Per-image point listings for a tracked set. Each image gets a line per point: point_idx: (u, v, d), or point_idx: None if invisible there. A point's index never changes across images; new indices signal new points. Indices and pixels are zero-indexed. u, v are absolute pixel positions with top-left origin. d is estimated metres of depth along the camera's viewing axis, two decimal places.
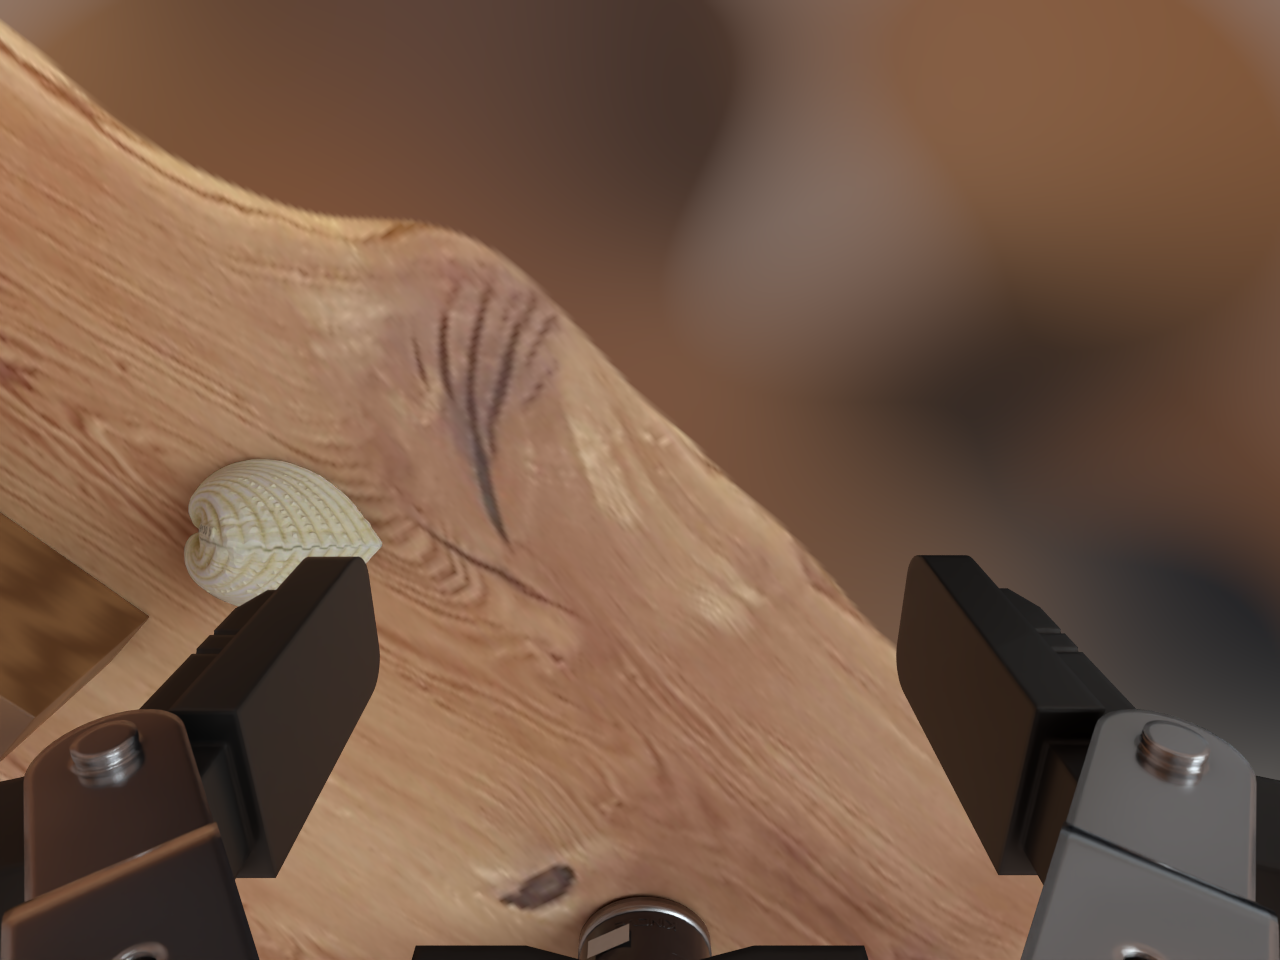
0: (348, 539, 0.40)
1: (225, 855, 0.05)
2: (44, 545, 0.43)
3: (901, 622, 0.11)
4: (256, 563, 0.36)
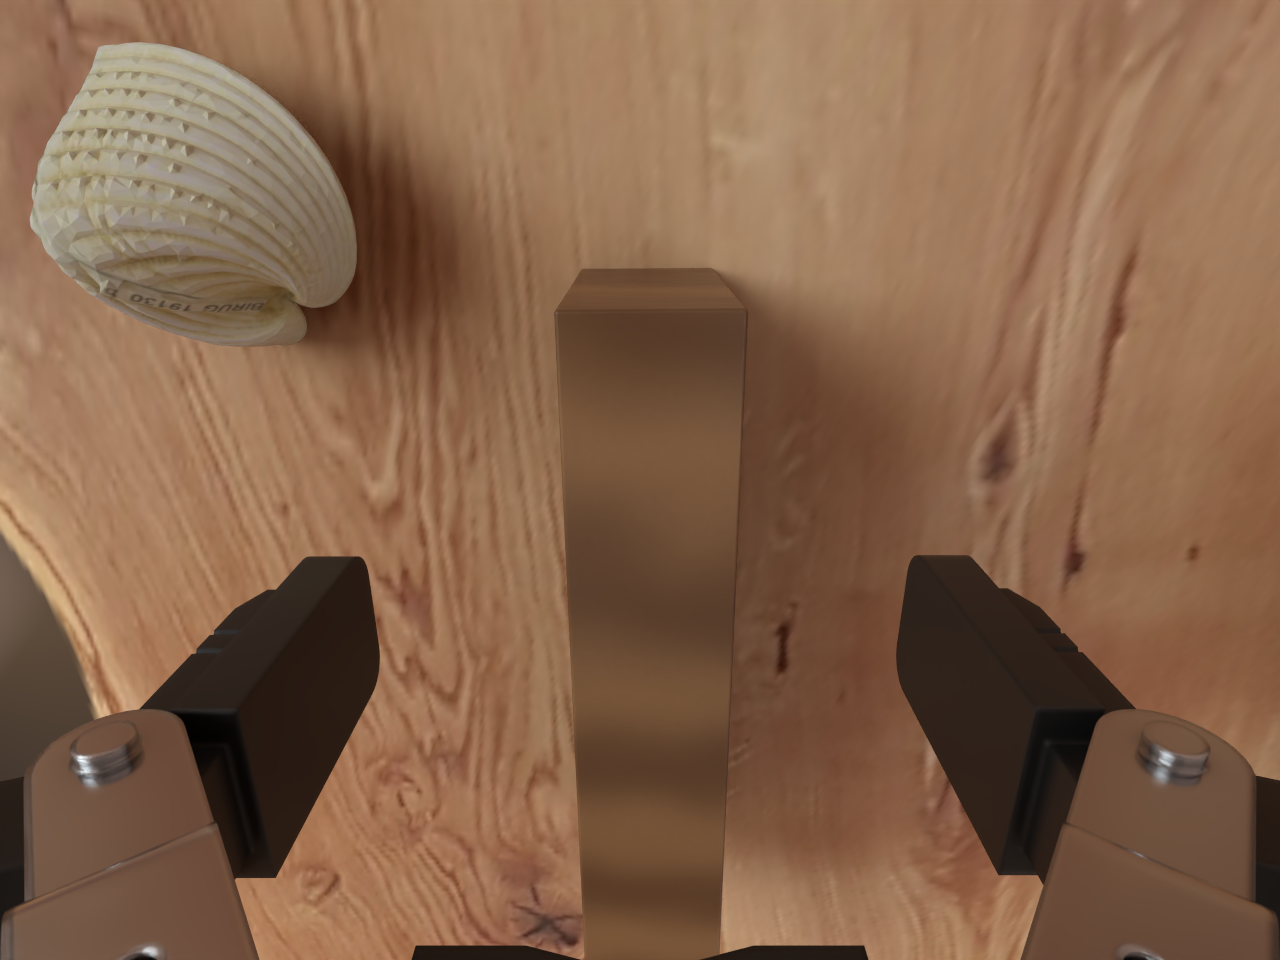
0: None
1: (225, 855, 0.05)
2: None
3: (901, 623, 0.11)
4: (63, 193, 0.19)
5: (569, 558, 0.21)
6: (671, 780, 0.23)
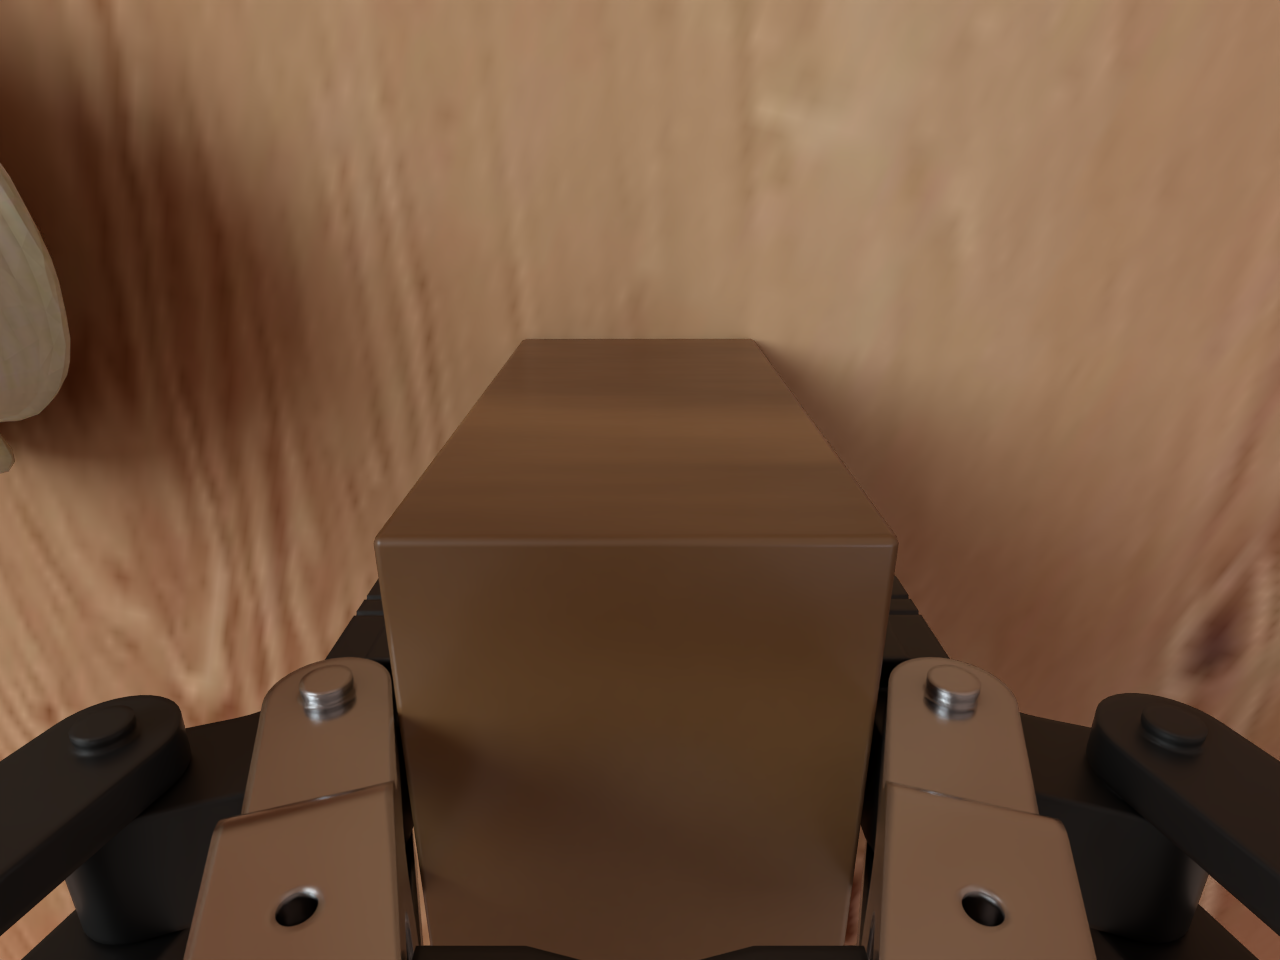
0: None
1: (392, 818, 0.05)
2: None
3: None
4: None
5: None
6: None
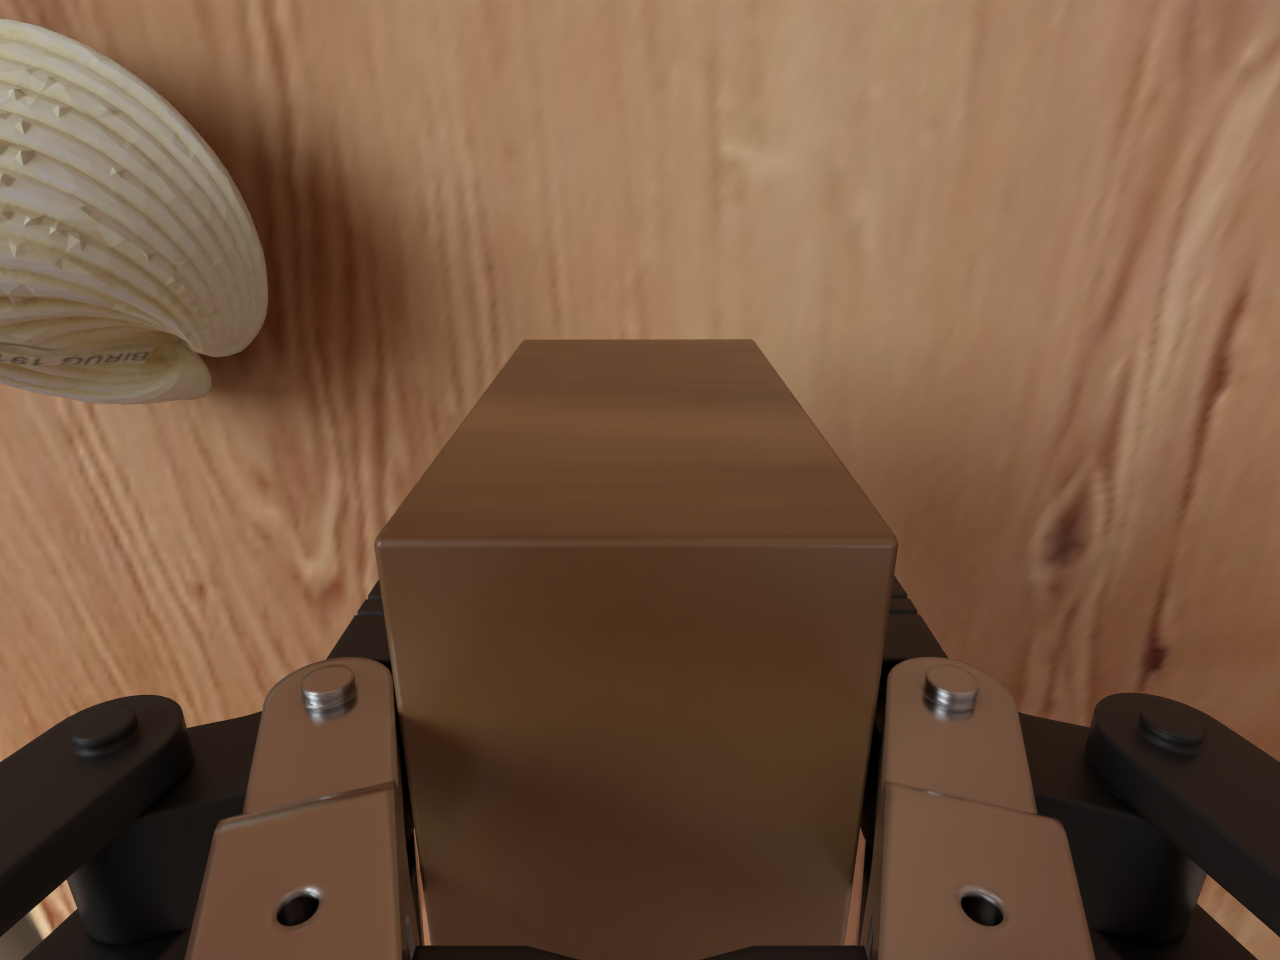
0: None
1: (393, 818, 0.05)
2: None
3: None
4: None
5: None
6: None
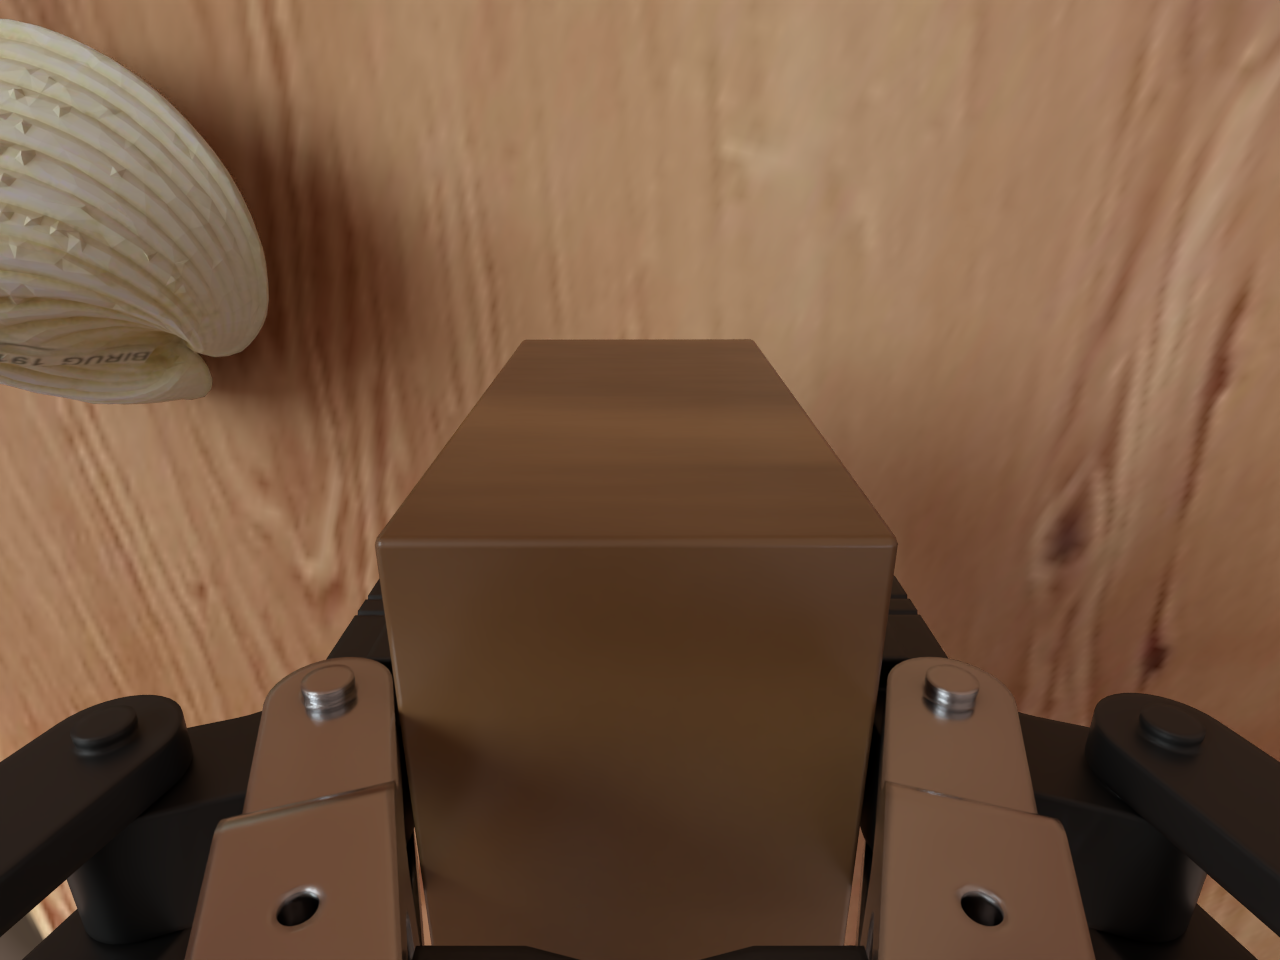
0: None
1: (393, 817, 0.05)
2: None
3: None
4: None
5: None
6: None
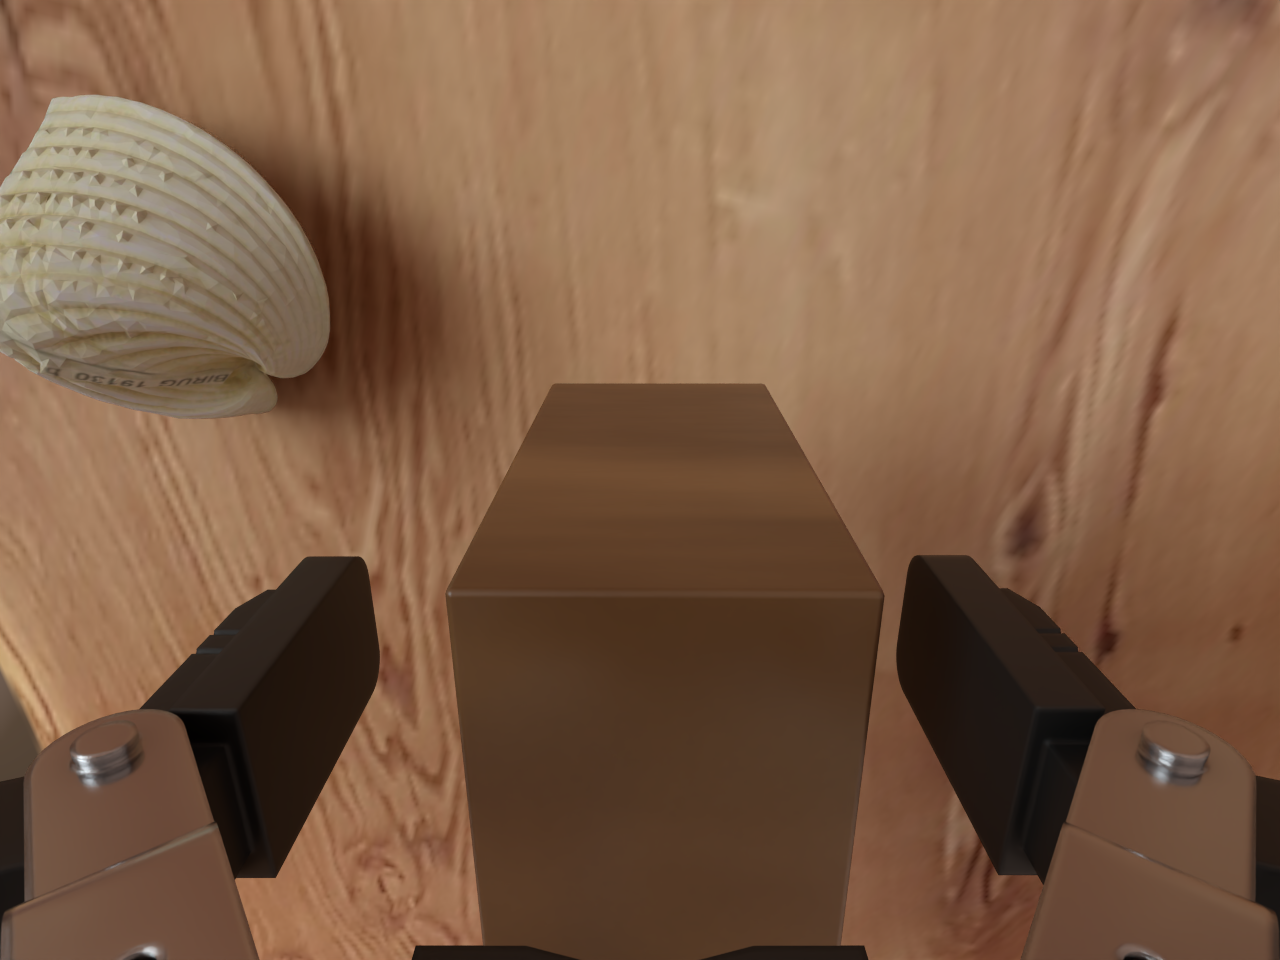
0: None
1: (225, 855, 0.05)
2: None
3: (900, 623, 0.11)
4: None
5: None
6: None
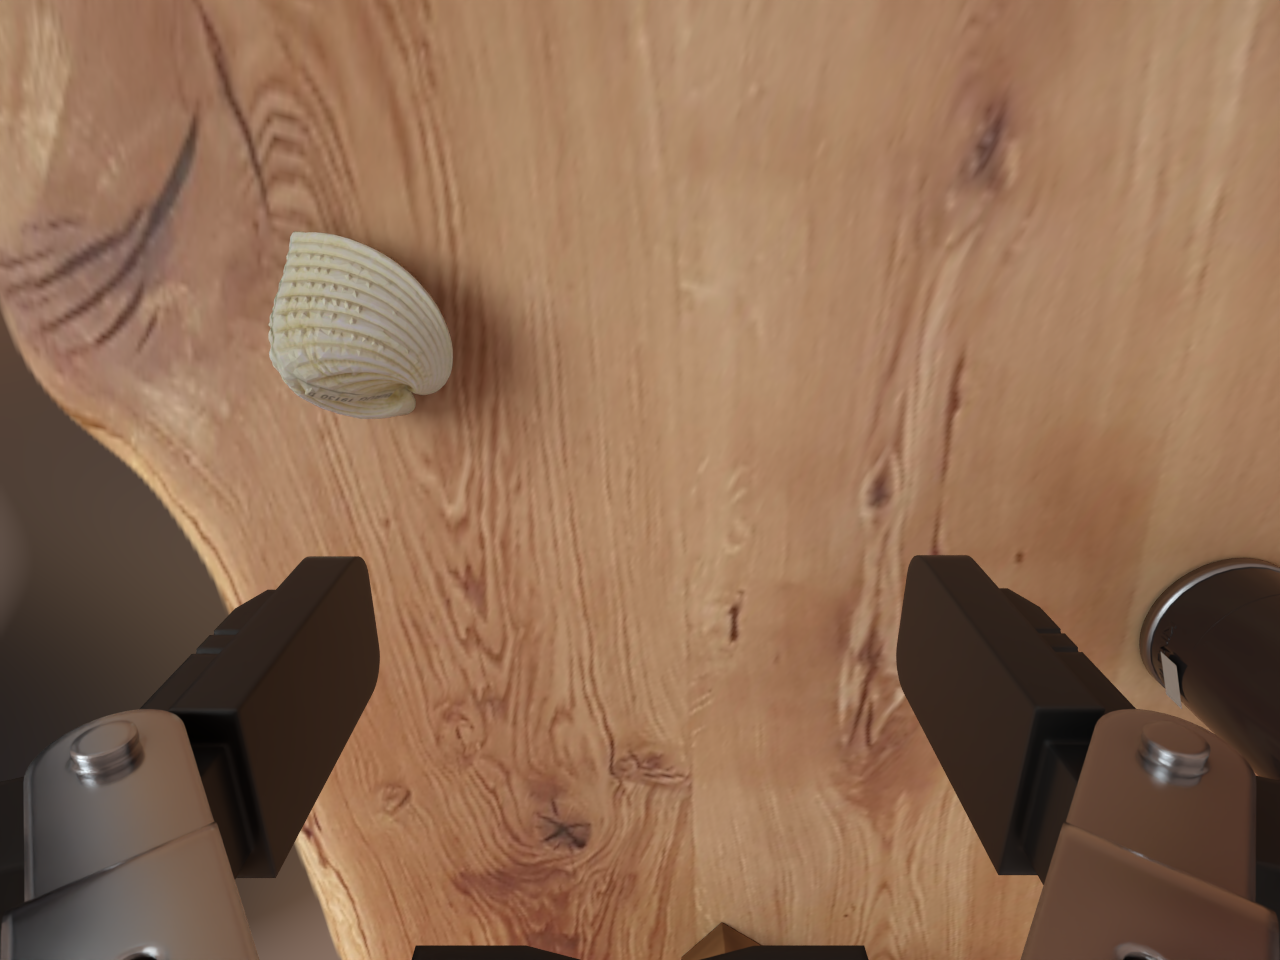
0: (285, 269, 0.36)
1: (225, 855, 0.05)
2: None
3: (900, 622, 0.11)
4: (291, 339, 0.33)
5: None
6: None
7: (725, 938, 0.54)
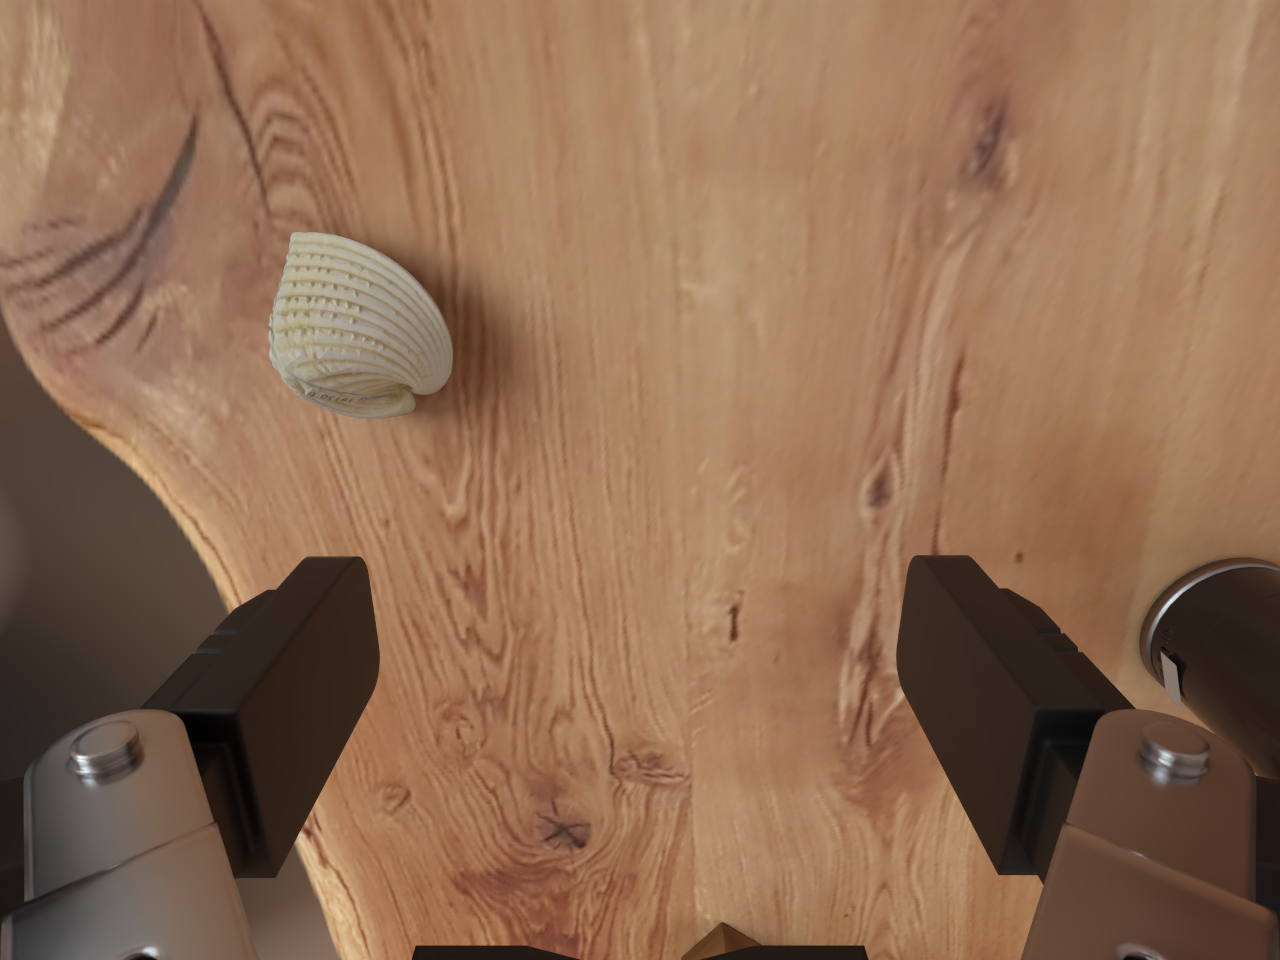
0: (285, 269, 0.36)
1: (225, 855, 0.05)
2: None
3: (900, 622, 0.11)
4: (291, 339, 0.33)
5: None
6: None
7: (725, 938, 0.54)
